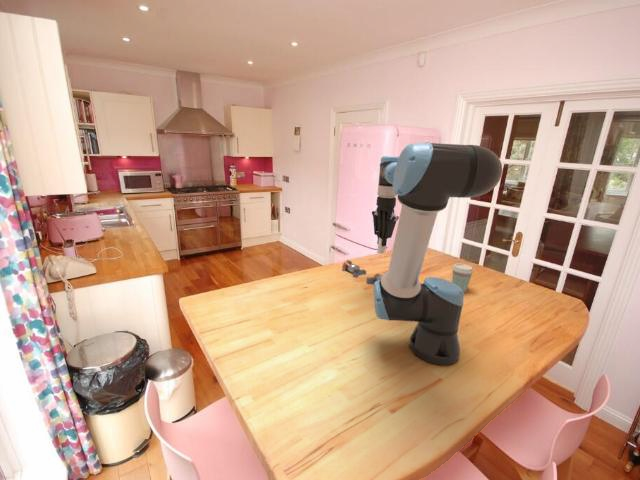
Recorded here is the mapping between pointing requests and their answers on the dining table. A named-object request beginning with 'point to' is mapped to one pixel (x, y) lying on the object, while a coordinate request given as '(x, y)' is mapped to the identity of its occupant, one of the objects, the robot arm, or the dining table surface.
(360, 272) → the pipe fitting
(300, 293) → the dining table surface
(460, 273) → the coffee cup
